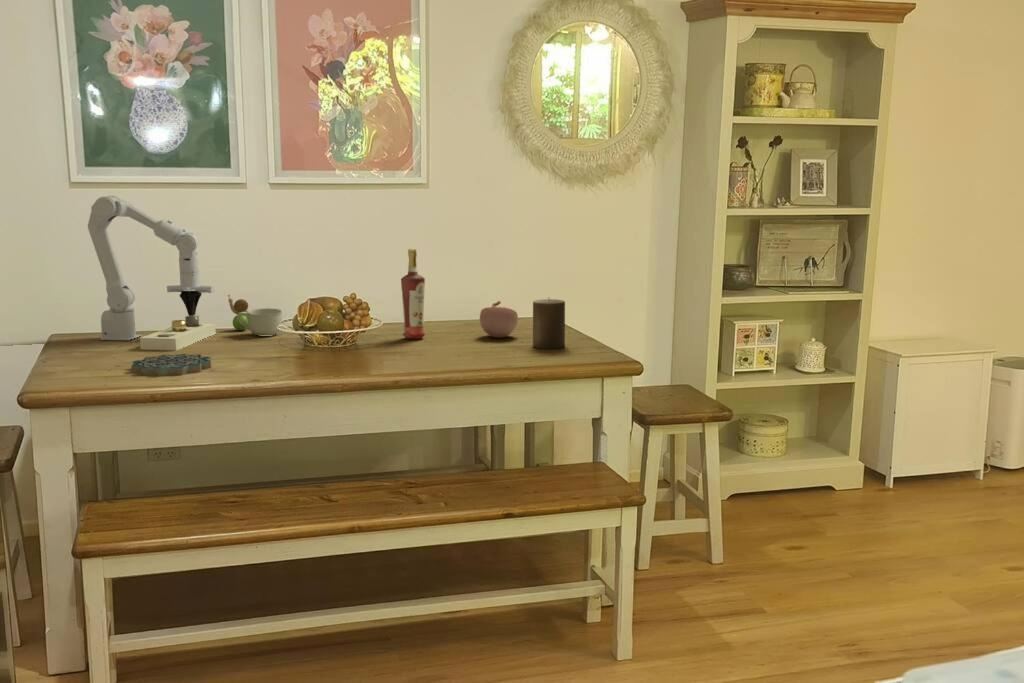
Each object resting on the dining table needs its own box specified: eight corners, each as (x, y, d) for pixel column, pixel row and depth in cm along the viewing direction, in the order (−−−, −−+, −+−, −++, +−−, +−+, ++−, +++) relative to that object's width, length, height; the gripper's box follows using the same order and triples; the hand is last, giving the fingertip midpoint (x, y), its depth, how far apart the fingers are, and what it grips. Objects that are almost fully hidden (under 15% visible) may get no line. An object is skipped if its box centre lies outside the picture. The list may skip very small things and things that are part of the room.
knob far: (183, 326, 301) (182, 317, 301) (189, 324, 305) (188, 315, 305) (195, 327, 301) (195, 317, 300) (201, 325, 305) (200, 315, 304)
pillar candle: (562, 349, 283) (562, 299, 280) (529, 348, 285) (529, 298, 282) (567, 343, 292) (567, 295, 290) (535, 342, 294) (535, 294, 292)
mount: (140, 349, 283) (139, 337, 282) (183, 333, 309) (182, 323, 308) (176, 350, 281) (175, 338, 281) (215, 334, 308) (215, 323, 307)
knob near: (156, 345, 284) (155, 335, 284) (162, 343, 288) (161, 333, 288) (168, 346, 284) (168, 335, 283) (175, 343, 288) (174, 333, 287)
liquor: (414, 341, 296) (412, 250, 291) (397, 339, 300) (395, 249, 295) (430, 338, 302) (429, 249, 296) (413, 335, 306) (411, 247, 301)
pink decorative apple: (519, 334, 309) (519, 299, 307) (515, 341, 297) (516, 304, 295) (482, 333, 310) (482, 298, 308) (477, 340, 298) (477, 303, 296)
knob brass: (169, 331, 293) (169, 321, 292) (176, 329, 297) (175, 319, 296) (182, 331, 292) (181, 321, 292) (188, 329, 296) (187, 319, 296)
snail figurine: (228, 330, 316) (226, 293, 314) (248, 328, 319) (246, 292, 317) (231, 332, 311) (229, 295, 309) (251, 331, 314) (249, 294, 312)
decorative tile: (226, 369, 257) (225, 360, 257) (156, 381, 243) (155, 371, 242) (187, 359, 271) (186, 350, 270) (118, 370, 256) (118, 361, 256)
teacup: (287, 332, 312) (286, 308, 310) (276, 338, 301) (275, 313, 300) (246, 331, 313) (245, 307, 312) (233, 337, 303) (232, 312, 301)
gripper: (161, 273, 297) (164, 316, 300) (205, 273, 295) (208, 317, 298) (171, 270, 304) (174, 313, 306) (215, 271, 302) (217, 314, 305)
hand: (191, 315), depth 303 cm, fingers closed
